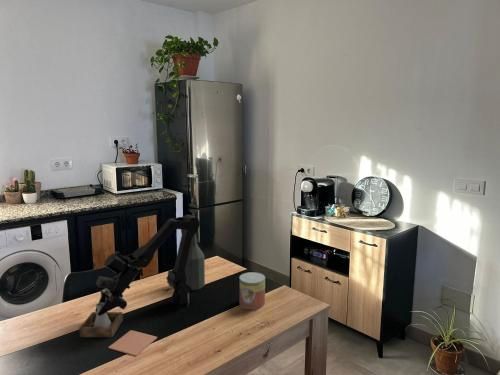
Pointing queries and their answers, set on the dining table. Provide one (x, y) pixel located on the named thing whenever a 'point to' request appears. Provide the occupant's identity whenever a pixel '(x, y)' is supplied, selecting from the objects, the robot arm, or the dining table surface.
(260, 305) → the canned food
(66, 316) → the dining table surface
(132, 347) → the terracotta mat
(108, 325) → the flask
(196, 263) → the bottle
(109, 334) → the walnut box
